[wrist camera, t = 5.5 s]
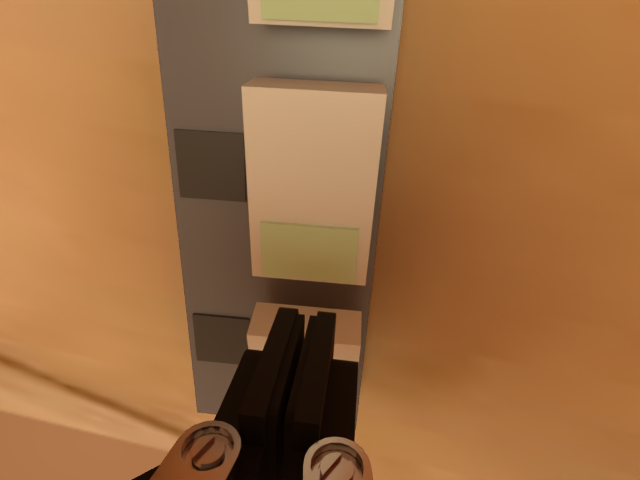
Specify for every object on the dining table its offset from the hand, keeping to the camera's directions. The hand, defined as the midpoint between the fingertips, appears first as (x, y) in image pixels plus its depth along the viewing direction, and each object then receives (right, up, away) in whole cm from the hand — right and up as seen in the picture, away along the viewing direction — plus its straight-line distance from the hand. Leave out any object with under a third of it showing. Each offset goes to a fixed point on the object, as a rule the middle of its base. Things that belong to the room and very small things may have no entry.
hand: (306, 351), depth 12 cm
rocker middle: (0, +5, +5) cm, 7 cm away
